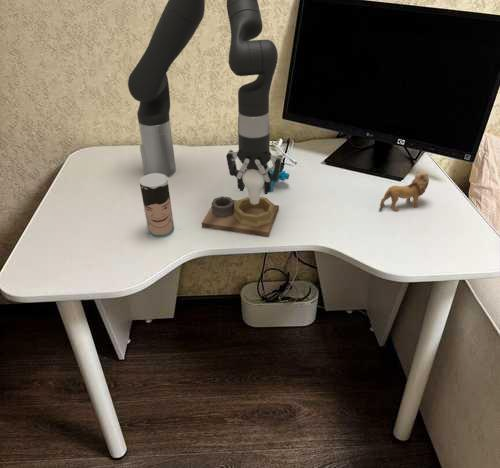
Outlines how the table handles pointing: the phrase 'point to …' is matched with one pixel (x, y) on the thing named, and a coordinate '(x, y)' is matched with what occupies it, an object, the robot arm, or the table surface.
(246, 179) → the lightbulb
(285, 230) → the table surface
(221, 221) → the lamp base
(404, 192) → the lion figurine
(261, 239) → the table surface
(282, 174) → the gear
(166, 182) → the face-printed can
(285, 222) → the table surface
